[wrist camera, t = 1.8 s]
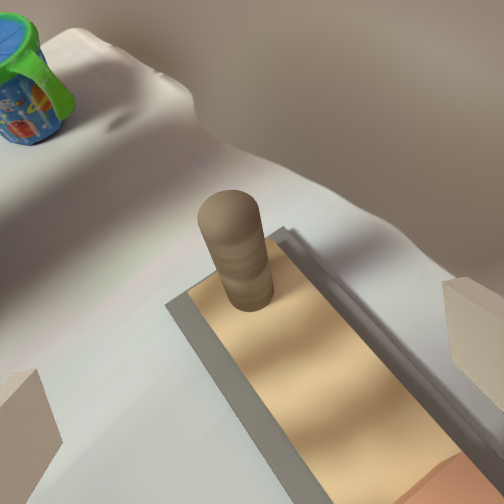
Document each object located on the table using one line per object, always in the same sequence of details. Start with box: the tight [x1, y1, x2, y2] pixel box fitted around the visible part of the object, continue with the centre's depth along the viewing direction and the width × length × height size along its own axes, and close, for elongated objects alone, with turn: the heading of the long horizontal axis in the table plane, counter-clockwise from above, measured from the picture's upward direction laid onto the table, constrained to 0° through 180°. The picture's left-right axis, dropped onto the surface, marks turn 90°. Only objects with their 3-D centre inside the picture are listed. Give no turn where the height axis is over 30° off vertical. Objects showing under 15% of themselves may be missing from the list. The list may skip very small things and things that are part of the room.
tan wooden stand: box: [187, 190, 462, 504], centre depth 25 cm, size 28×8×11 cm, turn 35°
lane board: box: [165, 226, 504, 504], centre depth 31 cm, size 30×12×1 cm, turn 35°
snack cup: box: [0, 12, 75, 145], centre depth 47 cm, size 16×10×10 cm
